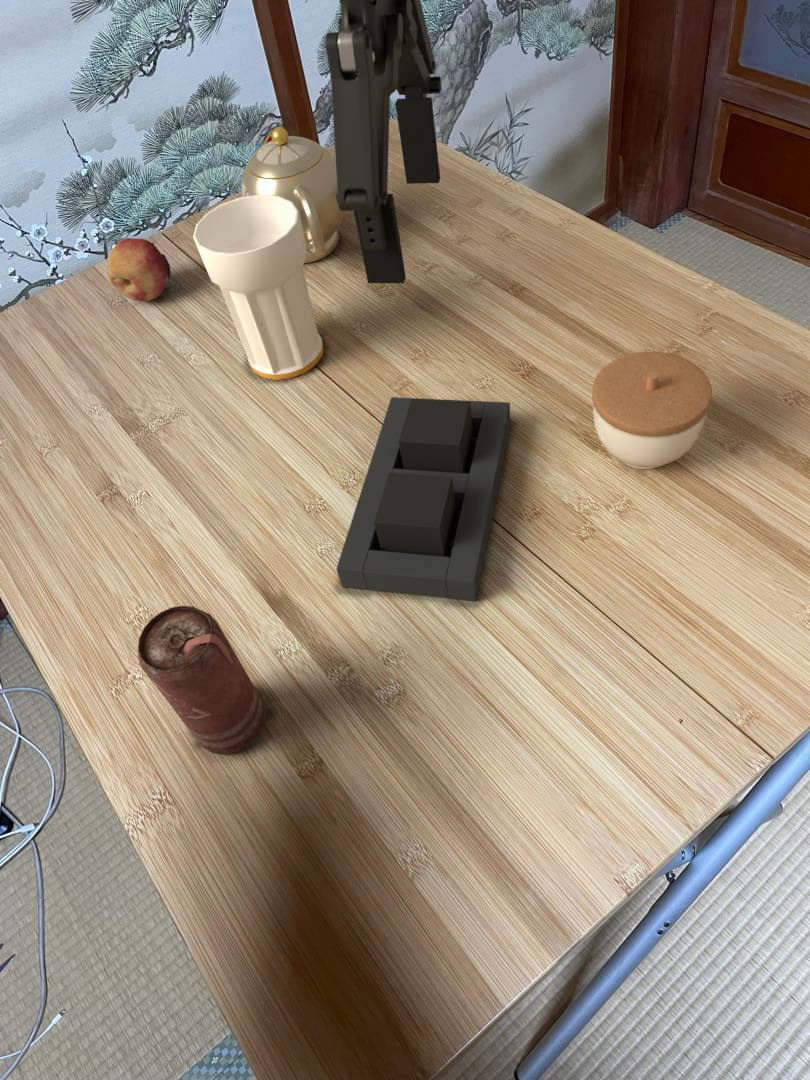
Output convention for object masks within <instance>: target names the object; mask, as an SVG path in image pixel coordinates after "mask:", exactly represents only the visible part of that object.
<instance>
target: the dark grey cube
mask: <svg viewBox="0 0 810 1080" xmlns="http://www.w3.org/2000/svg"><path fill="white" fill-rule="evenodd" d="M458 520H459V519H458V512H457V511H456V504H455V496H454V489H453V481H452V477H442V476H427V475H413V474H399V473H389V474H388V478H387V481H386V484H385V488H384V491H383V494H382V498H381V501H380V504H379V507H378V511H377V514H376V517H375V521H374V524H375V528H376V532H377V536H378V540H379V543H380V551H387V552H398V553H409V554H420V555H431V556H442V557H450V553H451V551H452V545H453V542H454V537H455V533H456V532H455V531H456V529H457V528H456V527H457V524H458Z"/></svg>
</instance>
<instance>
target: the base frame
mask: <svg viewBox="0 0 810 1080" xmlns="http://www.w3.org/2000/svg"><path fill="white" fill-rule="evenodd" d="M411 399H420V397H419V398H418V397H417V398H416V397H396V396H395V397H394V396H392V397H390V401H389V404H388V406H387V409H386V413H385V417H384V419H383V421H382V425H381V428H380V432H379V435H378V438H377V441H376V444H375V447H374V449H373V453H372V456H371V460H370V462H369V466H368V469H367V471H366V475H365V478H364V480H363V481H364V482H363V485H362V488H361V491H360V494H359V497H358V499H357V503H356V507H355V510H354V513H353V516H352V519H351V522H350V525H349V529H348V532H347V534H346V538H345V540H344V544H343V547H342V550H341V553H340V557H339V559H338V561H337V562H338V563H337V565H336V572H337V575H338V578H339V581H340V584H341V587H342V588H343V589H351V590H352V589H353V590H364V591H373V592H382V593H393V594H400V595H401V594H403V595H413V596H421V597H432V598H443V599H449V600H460V601H469V602H470V601H471V602H477V600H478V594H479V591H480V589H479V588H480V584H481V579H482V575H483V574H482V573H483V569H484V564H485V558H486V553H487V548H488V543H489V537H490V533H491V528H492V524H493V523H492V522H493V517H494V512H495V507H496V501H497V496H498V491H499V486H500V481H501V475H502V470H503V467H504V466H503V465H504V460H505V455H506V450H507V446H508V445H507V444H508V439H509V435H510V430H511V424H512V423H511V421H512V420H511V403H510V402H509V401H508V402H506V401H486V400H485V401H484V400H483V401H481V400H468V401H469V402H470V406H471V415H472V425H473V435H474V439H476V442H475V446H474V450H473V455H472V459H471V464H470V468H469V472H468V474H467V473H452V472H437V471H422V470H407V469H404V466H403V461H402V456H401V451H400V446H399V438H400V435H401V432H402V428H403V425H404V422H405V418H406V415H407V412H408V408H409V405H410V402H411ZM423 399H424V400H442V399H440V398H423ZM445 400H446V401H464V400H463V399H462V400H458V399H445ZM389 473H399V474H413V475H427V476H442V477H452V481H453V489H454V496H455V504H456V511H457V513H460V515H459V519H458V522H457V526H456V527H457V528H456V532H455V535H454V540H453V544H452V545H453V546H452V549H451V555H450V556H449V557H442V556H431V555H420V554H409V553H398V552H387V551H381V547H380V543H379V540H378V536H377V532H376V528H375V524H374V521H375V517H376V514H377V511H378V507H379V504H380V501H381V498H382V494H383V491H384V488H385V484H386V481H387V478H388V474H389Z"/></svg>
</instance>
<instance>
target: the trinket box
mask: <svg viewBox="0 0 810 1080" xmlns="http://www.w3.org/2000/svg"><path fill="white" fill-rule="evenodd" d="M591 388H592V389H591V398H592V417H593V418H592V419H593V422H594V428H595V433H596V435H597V437H598V439H599V442H601V444H602V446H603V447H604V448H605V450H606V451H607V452H608V453H609V454H610V455H611V456H612V457H613V458H616V459H617V460H619V461H620V462H622V463H623V464H624V465H627V466H628V467H631V468H635V469H638V470H639V469H640V470H652V469H653V470H654V469H658V468H660V467H663V466H665V465H668V464H670V463H673V462H674V461H677V460H678V459H680V458H681V457H683V456H684V455H685V454H686V453H688V451H690V449H692V447H693V446H694V445H695V443H696V442H697V440H698V438H699V437H700V435H701V433H702V431H703V428H704V425H705V423H706V419H707V416H708V412H709V409H710V406H711V404H712V400H713V399H712V398H713V386H712V383H711V380H710V379H709V377H708V376H707V374H706V373H705V372H704V371H703V369H702V368H700V367H699V366H698V365H697V364H695V363H694V362H692V361H691V360H689V359H687V358H685V357H683V356H680V355H677V354H673V353H670V352H669V353H668V352H664V351H663V352H662V351H639V352H634V353H629V354H626V355H623V356H620V357H618V358H616V359H613V360H612V361H610V362H609V363H607V364H606V365H605V366H604V367H603V368H602V369H601V370H600V371H599V372H598V373H597V374H596V376H595V379H594V380H593V384H592V387H591Z"/></svg>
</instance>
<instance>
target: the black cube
mask: <svg viewBox="0 0 810 1080" xmlns="http://www.w3.org/2000/svg"><path fill="white" fill-rule="evenodd" d="M424 399H425V398H419V399H411V402H410V405H409V408H408V412H407V415H406V418H405V422H404V425H403V428H402V432H401V435H400V438H399V446H400V451H401V456H402V461H403V466H404V467H403V469H407V470H422V471H437V472H452V473H467V474H469V472H470V467H471V463H472V458H473V454H474V449H475V438H474V435H473V425H472V415H471V406H470V402H469V401H470V400H463V401H446V400H447V399H441V400H424Z"/></svg>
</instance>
